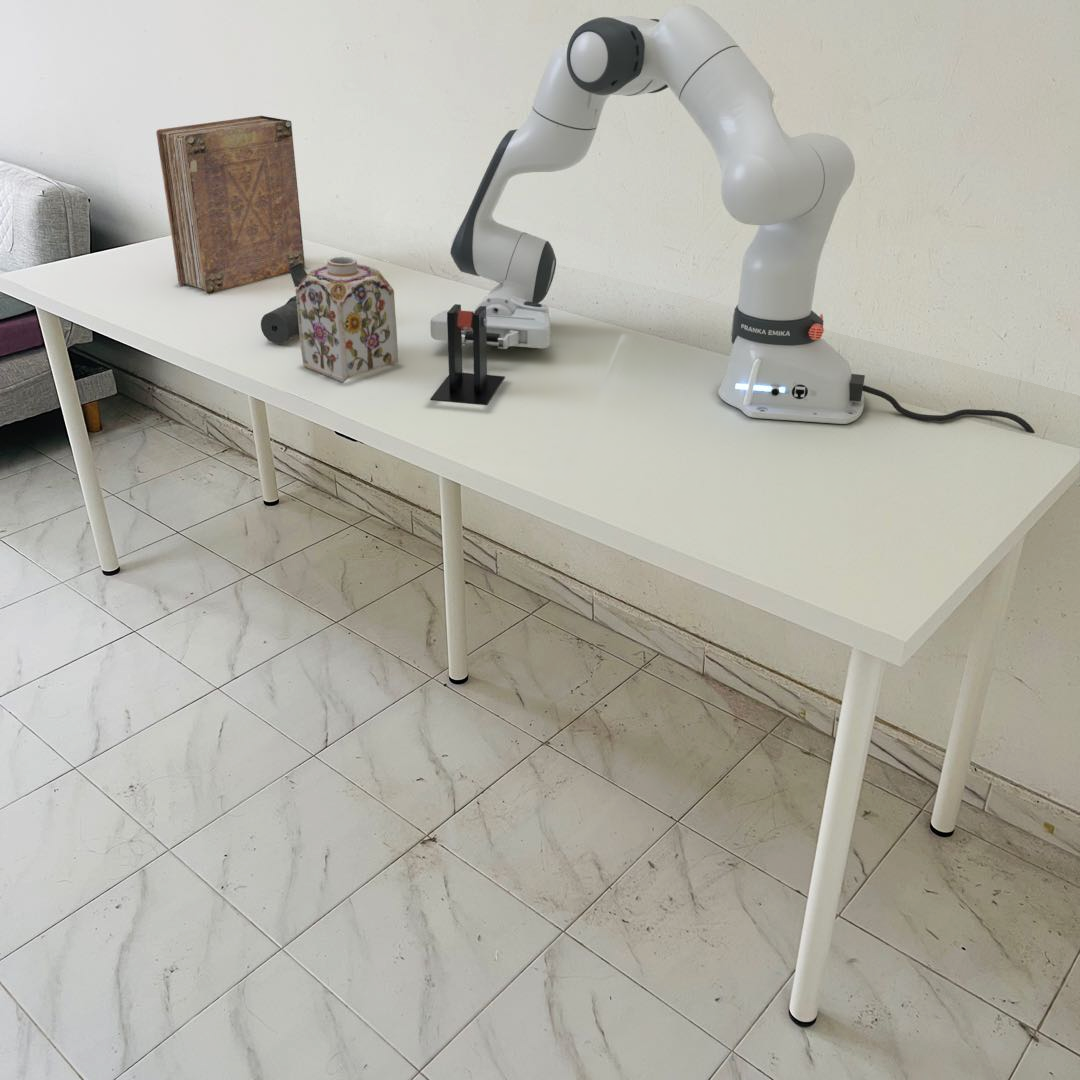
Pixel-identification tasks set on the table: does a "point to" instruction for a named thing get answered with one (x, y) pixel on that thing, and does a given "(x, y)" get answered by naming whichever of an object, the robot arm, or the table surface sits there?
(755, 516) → the table surface
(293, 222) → the book
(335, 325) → the decorative jar
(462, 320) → the switch lever
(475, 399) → the switch bracket
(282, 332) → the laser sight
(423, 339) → the table surface
